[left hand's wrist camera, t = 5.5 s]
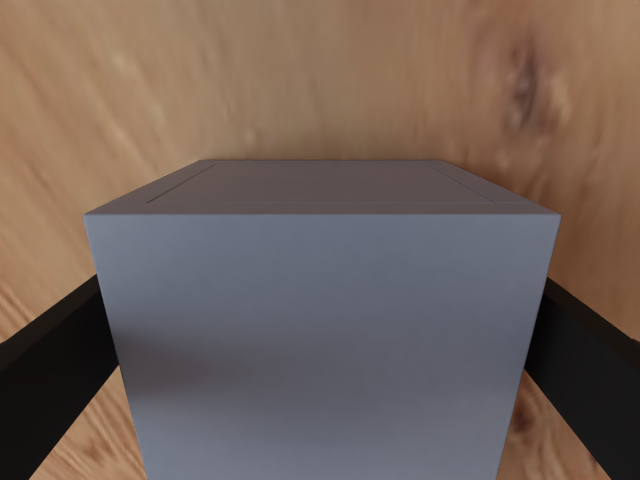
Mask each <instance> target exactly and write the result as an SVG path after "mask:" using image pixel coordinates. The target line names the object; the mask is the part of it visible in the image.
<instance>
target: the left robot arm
mask: <svg viewBox="0 0 640 480" xmlns="http://www.w3.org/2000/svg"><path fill="white" fill-rule="evenodd" d="M118 365H119V362H118V358H117V354H116V350H115V346H114V342H113V338H112V334H111V330H110V326H109V322H108V317H107V313H106V309H105V305H104V301H103V297H102V293H101V289H100V285H99V281H98V277H97V274H96V275H94V276H93V277H91V278H90V279H89V280H87V281H86V282H85V283H83V284H82V285H81V286H79V287H78V288H77V289H75V290H74V291H73V292H71V293H70V294H68V295H67V296H66V297H64V298H63V299H62V300H60V301H59V302H58V303H56V304H55V305H54V306H52V307H51V308H50V309H48V310H47V311H45V312H44V313H43V314H41V315H40V316H39V317H37V318H36V319H35V320H33V321H32V322H31V323H29V324H28V325H27V326H25V327H24V328H22V329H21V330H20V331H18V332H17V333H16V334H14V335H13V336H12V337H10V338H9V339H8V340H6V341H4V342H2V343H0V480H29V478H30V477H31V476H32V475H33V473H34V472H35V471H36V470H37V468H38V467H39V466H40V464H41V463H42V462H43V461H44V459H45V458H46V457H47V456H48V454H49V453H50V452H51V450H52V449H53V448H54V447H55V445H56V444H57V443H58V442H59V440H60V439H61V438H62V436H63V435H64V434H65V433H66V431H67V430H68V429H69V428H70V426H71V425H72V424H73V422H74V421H75V420H76V419H77V417H78V416H79V415H80V413H81V412H82V411H83V410H84V408H85V407H86V406H87V405H88V403H89V402H90V401H91V399H92V398H93V397H94V396H95V394H96V393H97V392H98V391H99V389H100V388H101V387H102V385H103V384H104V383H105V382H106V380H107V379H108V378H109V377H110V375H111V374H112V373H113V371H114V370H115V369H116V368H117V366H118ZM524 369H525V370H526V371H527V373H528V374H529V375H530V377H531V378H532V379H533V380H534V382H535V383H536V384H537V385H538V387H539V388H540V389H541V391H542V392H543V393H544V394H545V396H546V397H547V398H548V399H549V401H550V402H551V403H552V405H553V406H554V407H555V408H556V410H557V411H558V412H559V413H560V415H561V416H562V417H563V419H564V420H565V421H566V422H567V424H568V425H569V426H570V428H571V429H572V430H573V431H574V433H575V434H576V435H577V436H578V438H579V439H580V440H581V442H582V443H583V444H584V445H585V447H586V448H587V449H588V450H589V452H590V453H591V454H592V456H593V457H594V458H595V459H596V461H597V462H598V463H599V464H600V466H601V467H602V468H603V470H604V471H605V472H606V473H607V475H608V476H609V477H610V478H611V480H640V342H639V341H637V340H635V339H631V338H630V337H628V336H627V335H626V334H624V333H623V332H622V331H620V330H619V329H618V328H616V327H615V326H613V325H612V324H611V323H609V322H608V321H607V320H605V319H604V318H603V317H601V316H600V315H599V314H597V313H596V312H595V311H593V310H592V309H590V308H589V307H588V306H586V305H585V304H584V303H582V302H581V301H580V300H578V299H577V298H576V297H574V296H573V295H572V294H570V293H569V292H567V291H566V290H565V289H563V288H562V287H561V286H559V285H558V284H557V283H555V282H554V281H553V280H551V279H550V278H549V277H547V278H546V282H545V286H544V290H543V294H542V298H541V302H540V306H539V310H538V314H537V318H536V322H535V326H534V330H533V334H532V338H531V342H530V346H529V350H528V354H527V358H526V362H525V366H524Z"/></svg>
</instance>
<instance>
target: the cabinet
mask: <svg viewBox="0 0 640 480" xmlns="http://www.w3.org/2000/svg"><path fill="white" fill-rule="evenodd" d="M561 219H562V215H561V214H559V213H557V212H555V211H552V210H550V209H548V208H546V207H544V206H541V205H539V204H537V203H536V202H533V201H531V200H529V199H527V198H525V197H523V196H520V195H518V194H516V193H514V192H512V191H509V190H507V189H505V188H503V187H501V186H498V185H496V184H494V183H492V182H490V181H488V180H485V179H483V178H481V177H479V176H477V175H474V174H472V173H470V172H468V171H466V170H463V169H461V168H459V167H457V166H455V165H452V164H450V163H448V162H446V161H444V160H199V161H197V162H195V163H193V164H190V165H188V166H186V167H184V168H182V169H180V170H177V171H175V172H173V173H171V174H169V175H167V176H164V177H162V178H160V179H158V180H156V181H154V182H151V183H149V184H147V185H145V186H143V187H141V188H138V189H136V190H134V191H132V192H130V193H128V194H126V195H123V196H121V197H119V198H117V199H115V200H113V201H110V202H108V203H107V204H105V205H103V206H100V207H98V208H96V209H94V210H92V211H90V212H87V213H85V214H84V215H83V220H84V224H85V228H86V232H87V236H88V240H89V244H90V249H91V253H92V257H93V261H94V265H95V269H96V273H97V277H98V281H99V285H100V289H101V293H102V297H103V301H104V305H105V309H106V313H107V317H108V322H109V326H110V330H111V334H112V338H113V342H114V346H115V350H116V354H117V358H118V362H119V366H120V370H121V374H122V378H123V382H124V386H125V390H126V395H127V399H128V403H129V407H130V411H131V415H132V419H133V423H134V427H135V431H136V435H137V439H138V443H139V447H140V451H141V455H142V459H143V463H144V468H145V472H146V476H147V480H496V477H497V473H498V469H499V465H500V461H501V457H502V453H503V449H504V445H505V441H506V438H507V434H508V430H509V426H510V422H511V418H512V414H513V410H514V406H515V402H516V398H517V394H518V390H519V386H520V382H521V378H522V374H523V370H524V366H525V362H526V358H527V354H528V350H529V346H530V342H531V338H532V334H533V330H534V326H535V322H536V318H537V314H538V310H539V306H540V302H541V298H542V294H543V290H544V286H545V282H546V278H547V274H548V270H549V266H550V262H551V258H552V254H553V250H554V246H555V243H556V239H557V235H558V231H559V227H560V223H561Z"/></svg>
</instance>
